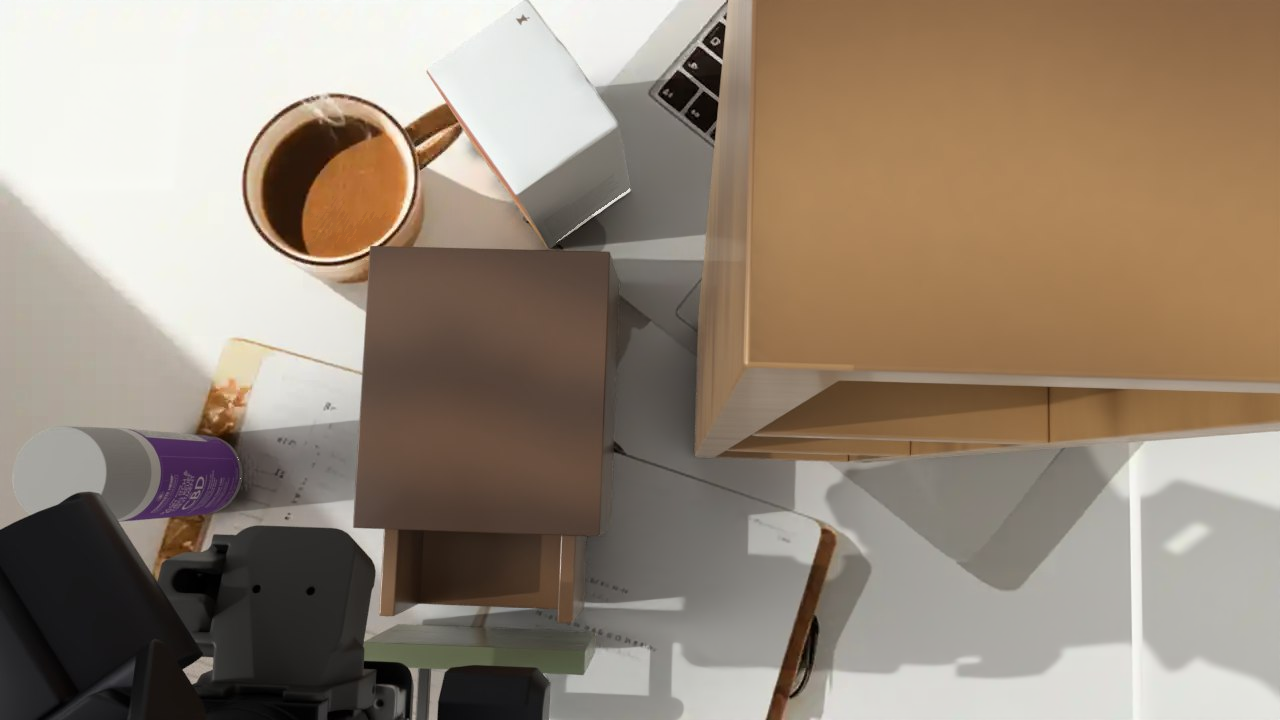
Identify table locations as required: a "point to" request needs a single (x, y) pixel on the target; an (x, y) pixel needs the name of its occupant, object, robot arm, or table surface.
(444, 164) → the table surface
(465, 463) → the brown box
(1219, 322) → the rack
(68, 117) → the table surface
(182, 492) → the container
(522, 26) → the small box
